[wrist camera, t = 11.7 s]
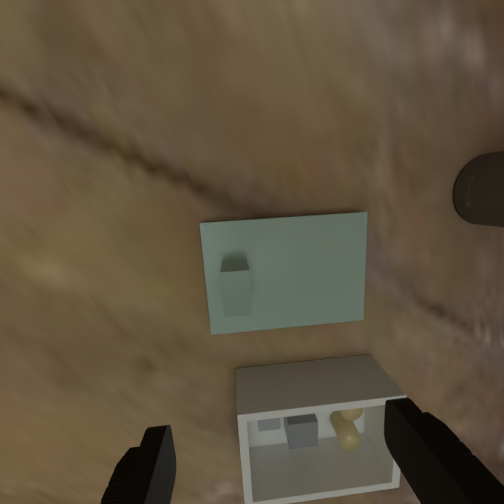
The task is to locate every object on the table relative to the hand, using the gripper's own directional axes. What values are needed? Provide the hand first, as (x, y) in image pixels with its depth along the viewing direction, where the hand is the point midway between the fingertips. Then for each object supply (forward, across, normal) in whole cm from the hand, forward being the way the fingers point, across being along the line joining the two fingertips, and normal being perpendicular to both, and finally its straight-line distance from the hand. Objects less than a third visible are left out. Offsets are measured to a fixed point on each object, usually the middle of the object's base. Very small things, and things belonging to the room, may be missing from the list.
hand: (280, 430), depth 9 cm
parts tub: (+24, -7, +22) cm, 34 cm away
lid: (+25, -5, +1) cm, 25 cm away
